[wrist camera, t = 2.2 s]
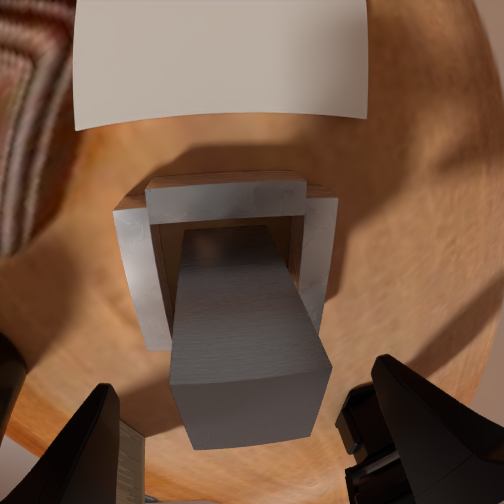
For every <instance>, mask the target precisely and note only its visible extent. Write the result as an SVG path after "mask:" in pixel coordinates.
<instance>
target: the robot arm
mask: <svg viewBox="0 0 504 504" xmlns="http://www.w3.org/2000/svg"><path fill="white" fill-rule="evenodd" d="M371 377H372V380H373V384H374V385H373V386H369V387H366V388H362V389H358V390H354V391H351V392H350V393H349V394H348V395H347V397H346V400H345V402H344V404H343V407H342V409H341V411H340V414H339V416H338V418H337V420H336V423H335V426H336V428H338V430H339V433H340V435H341V438H342V440H343V443H344V446H345V448H346V451H347V453H348V454H349V455H351V454H353V455H354V458H355V460H356V463H357V465H355V466H353V467H349V468H347V469H345V474H346V477H345V479H346V485H347V490H348V496H349V501H350V504H504V427H502V426H500V425H498V424H496V423H494V422H492V421H490V420H488V419H487V418H485V417H483V416H481V415H479V414H478V413H476V412H474V411H473V410H471V409H470V408H468V407H467V406H465V405H464V404H462V403H460V402H459V401H457V400H456V399H454V398H453V397H451V396H450V395H449V394H447V393H446V392H444V391H443V390H441V389H440V388H438V387H437V386H435V385H434V384H432V383H431V382H429V381H428V380H426V379H425V378H423V377H422V376H420V375H419V374H417V373H416V372H414V371H413V370H411V369H410V368H409V367H407V366H406V365H404V364H403V363H401V362H400V361H398V360H397V359H395V358H394V357H392V356H391V355H389V354H384V355H380V356H378V357H377V358H376V360H375V363H374V365H373V368H372V370H371ZM119 446H120V401H119V397H118V395H117V394H116V392H115V390H114V388H113V386H112V385H111V384H109V383H99V384H98V385H97V386H96V387H95V389H94V390H93V391H92V392H91V394H90V395H89V396H88V397H87V399H86V400H85V401H84V402H83V404H82V405H81V406H80V407H79V409H78V410H77V411H76V412H75V414H74V415H73V416H72V418H71V419H70V420H69V421H68V423H67V424H66V425H65V427H64V428H63V429H62V430H61V432H60V433H59V434H58V436H57V437H56V438H55V440H54V441H53V442H52V443H51V445H50V446H49V447H48V449H47V450H46V451H45V453H44V455H42V457H41V458H40V459H39V461H38V462H37V463H36V464H35V466H34V467H33V468H32V469H31V471H30V472H29V473H28V474H27V475H26V476H25V478H24V479H23V480H22V481H21V482H20V483H19V484H18V485H17V486H16V487H15V488H14V489H13V490H12V491H11V492H10V493H9V495H8V496H7V497H5V499H3V500H2V501H1V502H0V504H116V488H117V471H118V457H119Z"/></svg>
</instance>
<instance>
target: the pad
mask: <svg viewBox="0 0 504 504" xmlns="http://www.w3.org/2000/svg"><path fill="white" fill-rule="evenodd" d="M73 97H74V116H75V129H76V131H78V130H83V129H88V128H93V127H98V126H104V125H109V124H115V123H121V122H128V121H135V120H142V119H150V118H159V117H169V116H180V115H192V114H208V113H235V112H275V113H302V114H318V115H331V116H342V117H351V118H360V119H367V104H368V27H367V8H366V0H77V7H76V16H75V29H74V47H73Z"/></svg>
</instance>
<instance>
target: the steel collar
mask: <svg viewBox="0 0 504 504" xmlns="http://www.w3.org/2000/svg"><path fill="white" fill-rule="evenodd" d="M338 199H339V198H338V197H337V196H336V195H334V194H333V193H332V192H330V191H329V190H328V189H326V188H325V187H324V186H323V185H307V181H306V180H305V179H304V178H303V177H301V176H300V175H299V174H298V173H296V172H295V171H294V170H280V171H242V172H220V173H203V174H189V175H176V176H165V177H154V178H152V180H151V181H150V183H149V184H148V186H147V187H146V188H145V194H141V195H132V196H124V197H123V199H122V200H121V201H120V202H119V204H118V205H117V206H116V207H115V209H114V210H113V216H114V221H115V227H116V232H117V237H118V242H119V247H120V251H121V256H122V260H123V265H124V269H125V273H126V277H127V281H128V285H129V289H130V293H131V297H132V300H133V304H134V308H135V311H136V315H137V318H138V322H139V325H140V328H141V332H142V335H143V338H144V341H145V344H146V347H147V350H148V351H167V350H172V337H173V325H174V314H173V309H172V304H171V299H170V294H169V288H168V283H167V277H166V271H165V265H164V259H163V252H162V246H161V239H160V232H159V225H158V224H163V223H176V222H189V221H204V220H219V219H235V218H253V217H273V216H292V217H291V235H290V251H289V266H288V271H289V273H290V275H291V278H292V280H293V282H294V284H295V286H296V288H297V290H298V293H299V295H300V297H301V299H302V301H303V303H304V305H305V308H306V310H307V312H308V314H309V316H310V318H311V321H312V323H313V325H314V327H315V329H316V332H317V334H318V335H319V329H320V324H321V319H322V313H323V308H324V302H325V296H326V290H327V283H328V277H329V270H330V264H331V257H332V249H333V242H334V234H335V226H336V217H337V208H338Z"/></svg>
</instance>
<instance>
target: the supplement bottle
mask: <svg viewBox="0 0 504 504" xmlns="http://www.w3.org/2000/svg"><path fill="white" fill-rule="evenodd" d="M25 378H26V369H25V365H24V362H23V360H22V358H21V356H20V355H19V353H18V352H17V350H16V349H15V348H14V347H13V345H12V344H11V343H10V342H9V341H8V340H7V339H6V338H5V337H4V336H2V335H1V334H0V446H1V443H2V440H3V437H4V434H5V431H6V428H7V425H8V422H9V419H10V417H11V414H12V411H13V409H14V406H15V403H16V401H17V398H18V396H19V393H20V391H21V389H22V386H23V383H24V381H25Z"/></svg>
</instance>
